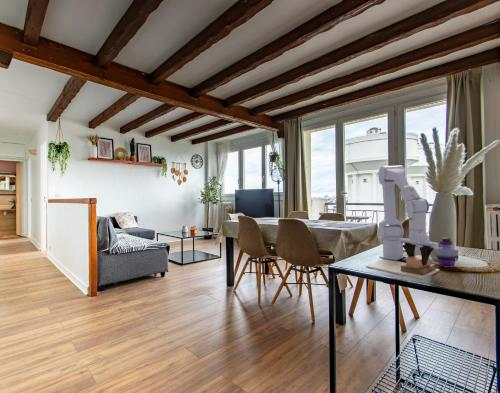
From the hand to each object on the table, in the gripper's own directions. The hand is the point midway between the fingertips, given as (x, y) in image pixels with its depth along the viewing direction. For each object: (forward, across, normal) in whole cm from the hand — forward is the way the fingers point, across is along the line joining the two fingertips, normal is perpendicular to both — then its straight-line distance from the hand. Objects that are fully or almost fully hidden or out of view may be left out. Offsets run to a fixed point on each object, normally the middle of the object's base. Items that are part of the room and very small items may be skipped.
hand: (418, 263), depth 109 cm
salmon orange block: (+1, 0, 0) cm, 1 cm away
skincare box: (+3, +13, -22) cm, 26 cm away
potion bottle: (+3, -2, -16) cm, 17 cm away
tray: (+3, 0, 0) cm, 3 cm away
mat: (+3, +6, +2) cm, 7 cm away
